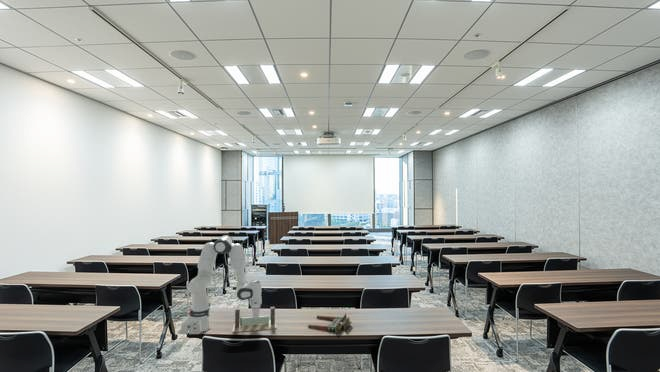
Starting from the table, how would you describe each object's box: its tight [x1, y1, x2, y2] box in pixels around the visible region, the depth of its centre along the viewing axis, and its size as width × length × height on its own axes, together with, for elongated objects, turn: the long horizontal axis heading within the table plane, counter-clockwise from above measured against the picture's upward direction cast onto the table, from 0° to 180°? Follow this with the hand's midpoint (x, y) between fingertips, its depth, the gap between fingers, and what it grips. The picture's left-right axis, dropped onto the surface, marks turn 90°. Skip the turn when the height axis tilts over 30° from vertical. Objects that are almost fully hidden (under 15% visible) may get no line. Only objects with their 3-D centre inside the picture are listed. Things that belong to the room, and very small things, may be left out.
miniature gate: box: [307, 313, 353, 335], centre depth 237 cm, size 27×6×30 cm
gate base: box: [232, 306, 277, 334], centre depth 234 cm, size 31×14×13 cm, turn 103°
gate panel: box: [240, 315, 270, 326], centre depth 234 cm, size 21×2×6 cm, turn 103°
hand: (255, 320), depth 236 cm, fingers closed
